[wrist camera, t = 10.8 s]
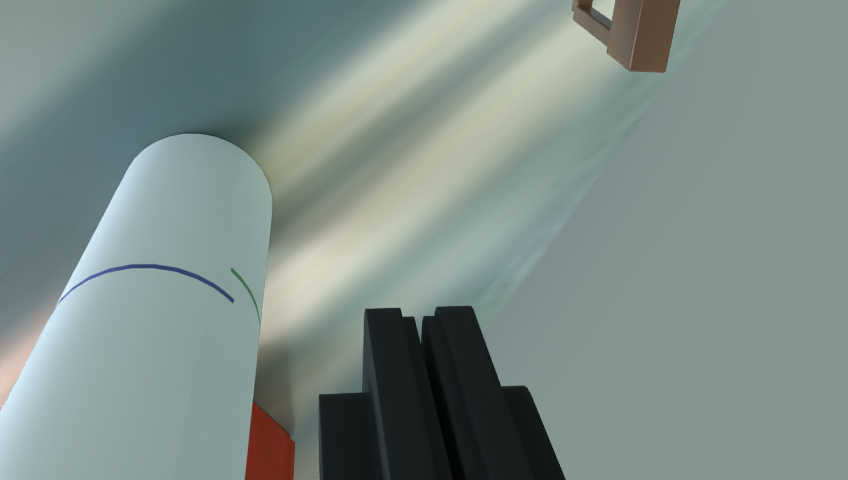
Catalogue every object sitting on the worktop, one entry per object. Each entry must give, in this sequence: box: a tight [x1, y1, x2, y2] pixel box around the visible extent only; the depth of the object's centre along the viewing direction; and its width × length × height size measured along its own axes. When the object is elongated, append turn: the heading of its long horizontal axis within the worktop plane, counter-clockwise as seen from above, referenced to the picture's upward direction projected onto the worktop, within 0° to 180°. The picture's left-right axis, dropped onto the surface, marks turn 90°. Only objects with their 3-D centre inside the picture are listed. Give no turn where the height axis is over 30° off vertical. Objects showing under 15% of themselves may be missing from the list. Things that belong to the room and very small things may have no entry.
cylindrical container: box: [0, 134, 272, 480], centre depth 28 cm, size 7×7×25 cm
